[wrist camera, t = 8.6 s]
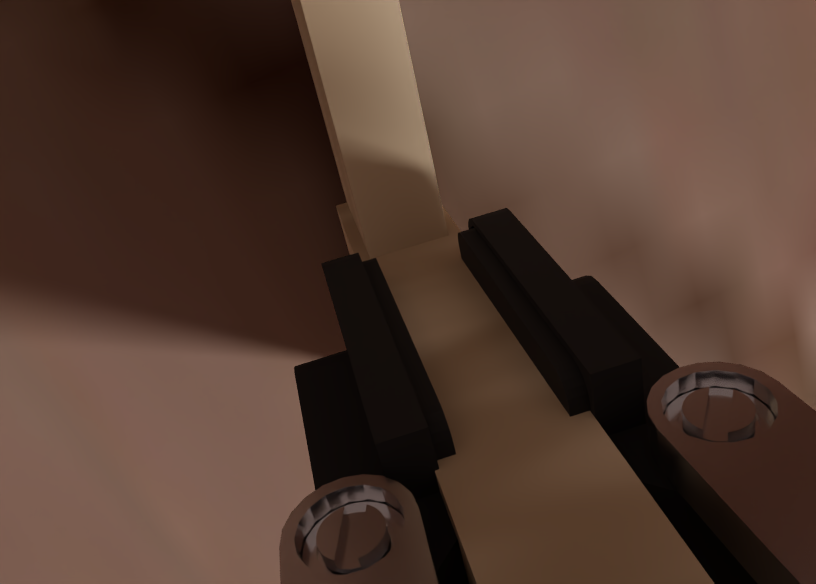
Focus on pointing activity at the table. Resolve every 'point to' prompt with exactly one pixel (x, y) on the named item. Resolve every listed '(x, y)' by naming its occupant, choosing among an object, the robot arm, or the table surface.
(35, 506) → the table surface
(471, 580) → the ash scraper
